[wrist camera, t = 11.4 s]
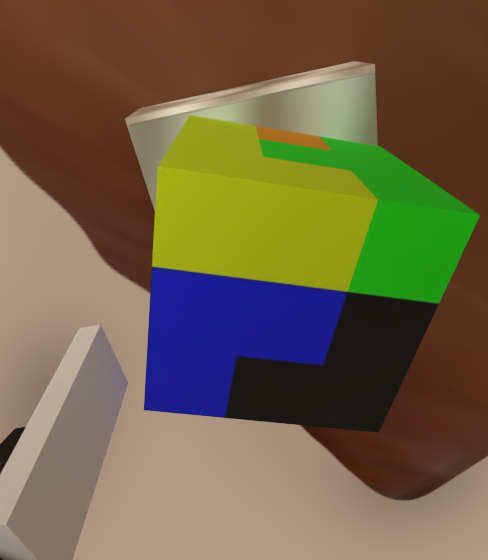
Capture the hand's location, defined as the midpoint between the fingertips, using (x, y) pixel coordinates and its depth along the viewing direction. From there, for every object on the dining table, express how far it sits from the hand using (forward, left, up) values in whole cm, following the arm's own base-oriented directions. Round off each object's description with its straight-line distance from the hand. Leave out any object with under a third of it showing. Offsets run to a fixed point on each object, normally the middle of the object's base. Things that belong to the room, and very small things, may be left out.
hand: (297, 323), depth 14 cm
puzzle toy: (0, +1, -11) cm, 11 cm away
